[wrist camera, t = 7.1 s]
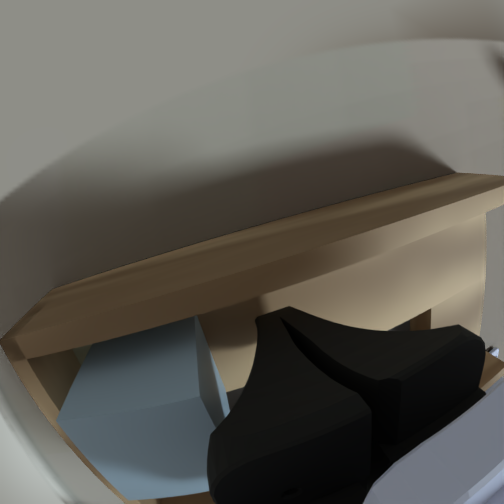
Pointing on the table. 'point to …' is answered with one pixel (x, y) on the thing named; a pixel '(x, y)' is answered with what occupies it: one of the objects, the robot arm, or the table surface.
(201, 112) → the table surface
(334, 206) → the board
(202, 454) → the blue block
